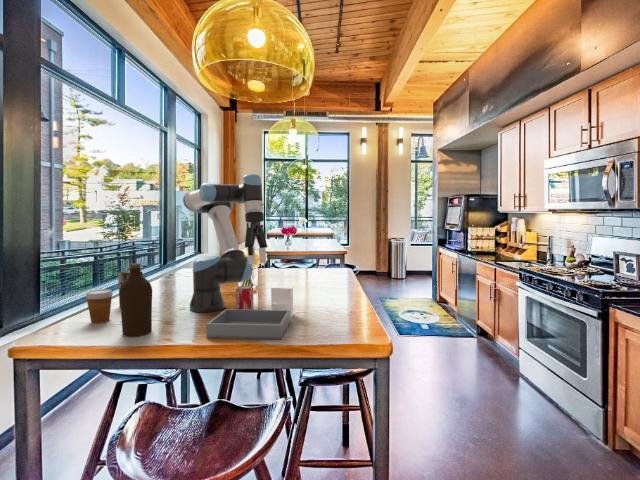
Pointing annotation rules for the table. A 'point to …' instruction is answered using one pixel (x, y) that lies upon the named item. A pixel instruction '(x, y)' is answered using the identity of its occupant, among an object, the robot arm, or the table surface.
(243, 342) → the table surface
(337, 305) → the table surface
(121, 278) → the coffee box
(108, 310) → the disposable coffee cup
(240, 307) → the soda can
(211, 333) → the tote
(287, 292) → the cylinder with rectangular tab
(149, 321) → the brown growler jug
